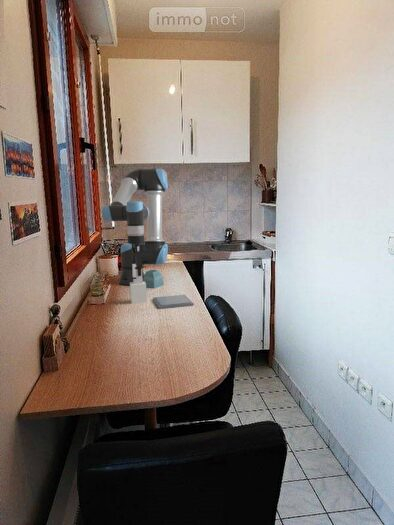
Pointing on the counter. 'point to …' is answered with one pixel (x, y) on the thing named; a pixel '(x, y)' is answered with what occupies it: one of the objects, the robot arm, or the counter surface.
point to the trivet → (172, 301)
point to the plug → (138, 292)
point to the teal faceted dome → (153, 279)
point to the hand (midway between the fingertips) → (137, 279)
